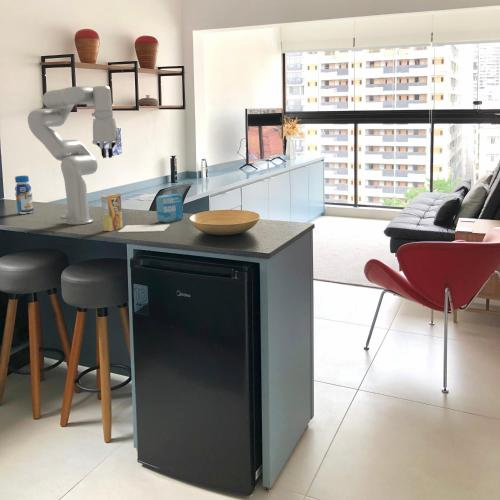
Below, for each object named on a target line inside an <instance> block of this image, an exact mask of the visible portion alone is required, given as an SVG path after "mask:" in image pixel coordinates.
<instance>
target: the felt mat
mask: <svg viewBox="0 0 500 500" xmlns="http://www.w3.org/2000/svg"><path fill="white" fill-rule="evenodd" d="M170 226H171V223H170V224H169V223H167V224H132V225H129V224H128V225H127V224H126V225H125V226H123V228H120V230H118V231H117V233H149V232H165V230H167V228H168V227H170Z"/></svg>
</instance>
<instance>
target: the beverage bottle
mask: <svg viewBox="0 0 500 500" xmlns="http://www.w3.org/2000/svg"><path fill="white" fill-rule="evenodd" d="M14 181H15V183H16V184H15V187H14V190H15V193H14V195H15V202H16V208H17V209H16V210H17V213H18V212H30V211H34V212H35V209H34V201H33V192H32V186H31V185H30V184H29V182H30V179H29V175H17V176H16V175H15V177H14Z"/></svg>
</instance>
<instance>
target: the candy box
mask: <svg viewBox="0 0 500 500" xmlns="http://www.w3.org/2000/svg"><path fill="white" fill-rule="evenodd" d="M100 199H101V210H102V211H101V212H102V223H103V231H105V232H107V231H108V232H112V231H116V230H118V229H122V228H124V225H123V213H122V210H123V209H122V200H121V199H122V198H121V194H120V193H111V194H106V195H101V196H100Z"/></svg>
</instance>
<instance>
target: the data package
mask: <svg viewBox="0 0 500 500" xmlns="http://www.w3.org/2000/svg"><path fill="white" fill-rule="evenodd" d="M155 201H156V202H155V203H156V216H157V221H158V222H160V223H161V222H162V223H171V222H175V221H180V220H183V217H184V210H183V209H184V208H183V207H184V206H183V196H182V194H176V193H172V194H165V195H158V196H157V197H156V199H155Z"/></svg>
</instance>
